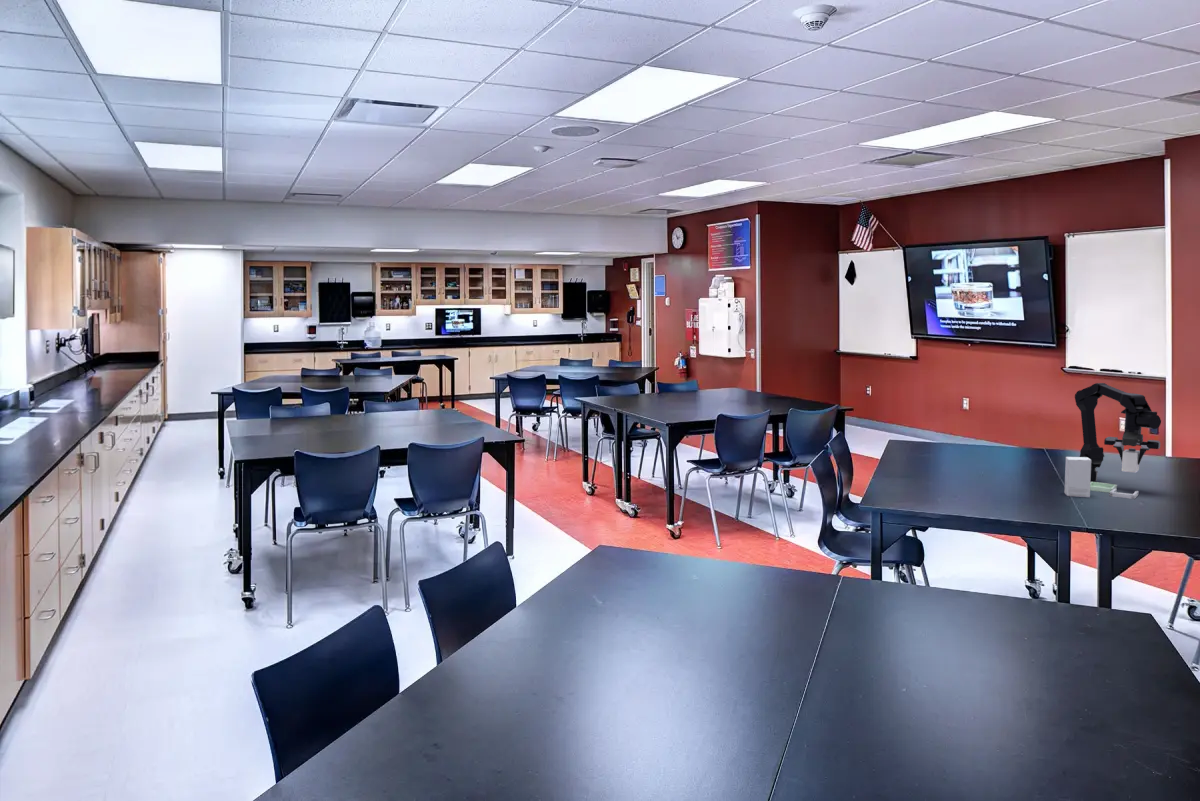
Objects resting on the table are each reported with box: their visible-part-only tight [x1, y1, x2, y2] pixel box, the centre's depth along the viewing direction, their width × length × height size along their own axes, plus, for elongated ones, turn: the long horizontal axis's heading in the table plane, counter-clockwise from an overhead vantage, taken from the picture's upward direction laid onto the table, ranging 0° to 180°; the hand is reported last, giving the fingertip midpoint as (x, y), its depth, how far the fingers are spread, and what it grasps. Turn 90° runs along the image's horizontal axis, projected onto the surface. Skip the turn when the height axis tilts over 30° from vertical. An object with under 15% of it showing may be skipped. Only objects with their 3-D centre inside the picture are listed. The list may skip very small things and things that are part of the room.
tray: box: [1090, 481, 1118, 493], centre depth 344 cm, size 9×11×2 cm
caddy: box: [1121, 447, 1140, 474], centre depth 340 cm, size 5×7×9 cm
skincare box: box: [1064, 456, 1092, 498], centre depth 333 cm, size 8×7×16 cm
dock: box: [1108, 489, 1139, 500], centre depth 333 cm, size 8×10×2 cm
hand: (1130, 463), depth 340 cm, fingers closed on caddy, 5 cm apart
